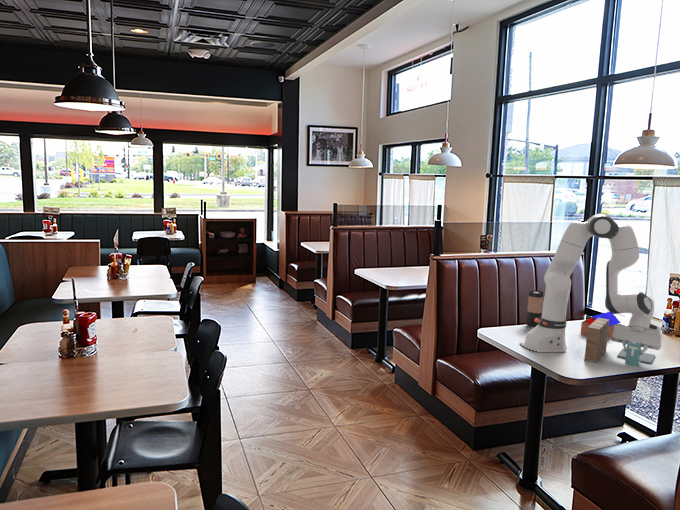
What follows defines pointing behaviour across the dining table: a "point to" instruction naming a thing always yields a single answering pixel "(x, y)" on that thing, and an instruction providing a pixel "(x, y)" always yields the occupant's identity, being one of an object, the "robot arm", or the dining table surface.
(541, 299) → the travel mug
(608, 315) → the house
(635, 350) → the lettered block
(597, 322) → the walnut screen
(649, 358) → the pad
